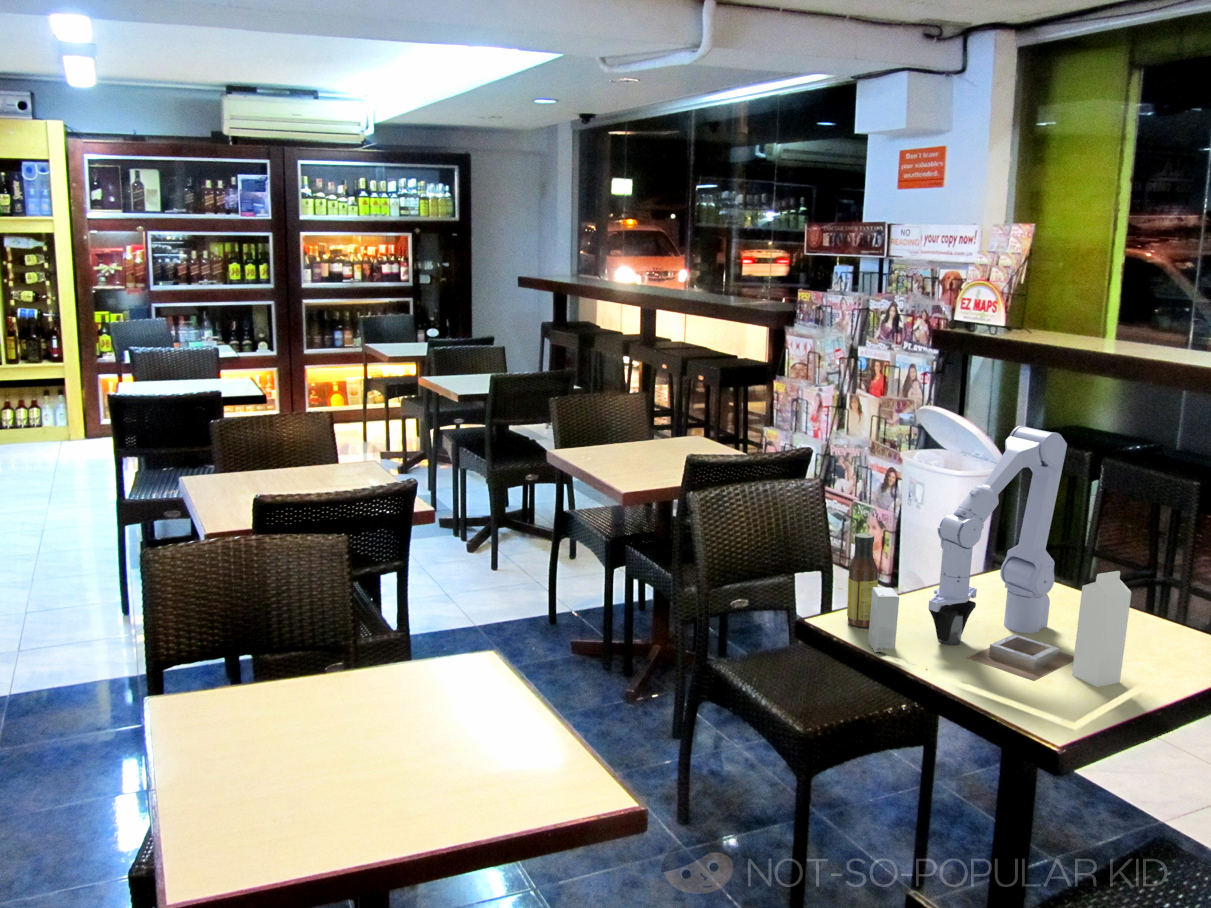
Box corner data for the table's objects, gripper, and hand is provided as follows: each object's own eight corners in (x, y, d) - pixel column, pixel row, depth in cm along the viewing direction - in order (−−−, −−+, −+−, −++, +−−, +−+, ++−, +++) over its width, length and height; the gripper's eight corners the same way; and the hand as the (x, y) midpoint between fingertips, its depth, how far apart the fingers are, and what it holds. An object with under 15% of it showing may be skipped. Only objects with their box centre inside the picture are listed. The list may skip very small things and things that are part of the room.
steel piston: (945, 640, 220) (947, 608, 219) (964, 646, 217) (967, 614, 216) (932, 645, 217) (935, 612, 216) (952, 651, 214) (955, 619, 213)
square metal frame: (1013, 645, 216) (1014, 634, 215) (1057, 659, 209) (1059, 648, 208) (988, 656, 210) (989, 644, 209) (1033, 671, 203) (1035, 659, 202)
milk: (1119, 687, 199) (1135, 575, 194) (1095, 692, 196) (1111, 579, 192) (1093, 675, 204) (1107, 566, 199) (1069, 679, 202) (1084, 569, 197)
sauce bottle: (879, 622, 230) (886, 534, 226) (870, 631, 224) (877, 541, 220) (850, 616, 233) (857, 529, 229) (840, 624, 228) (847, 535, 224)
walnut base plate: (1013, 641, 220) (1013, 636, 220) (1078, 662, 210) (1079, 657, 210) (966, 662, 209) (966, 657, 209) (1033, 685, 198) (1033, 680, 198)
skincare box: (895, 653, 212) (900, 597, 210) (874, 653, 213) (878, 596, 210) (888, 642, 218) (892, 587, 216) (867, 641, 219) (871, 586, 216)
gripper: (957, 562, 222) (951, 623, 224) (917, 575, 212) (912, 639, 215) (988, 570, 216) (981, 633, 219) (948, 584, 207) (942, 649, 210)
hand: (949, 637), depth 217 cm, fingers closed on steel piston, 4 cm apart
